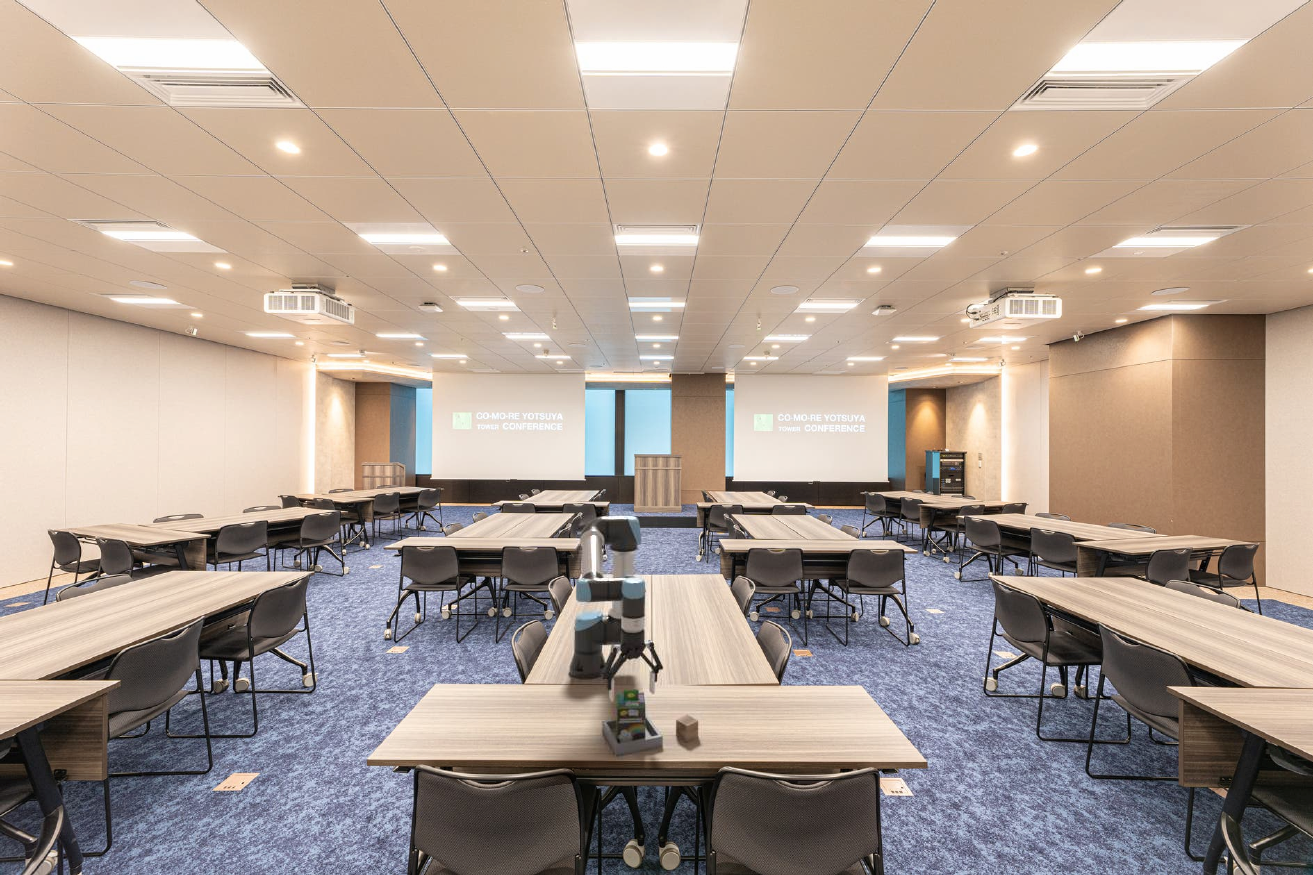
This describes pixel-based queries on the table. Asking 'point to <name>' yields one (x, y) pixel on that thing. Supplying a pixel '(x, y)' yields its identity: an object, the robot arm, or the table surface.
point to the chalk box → (630, 716)
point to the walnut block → (687, 728)
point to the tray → (650, 741)
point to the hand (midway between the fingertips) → (632, 695)
